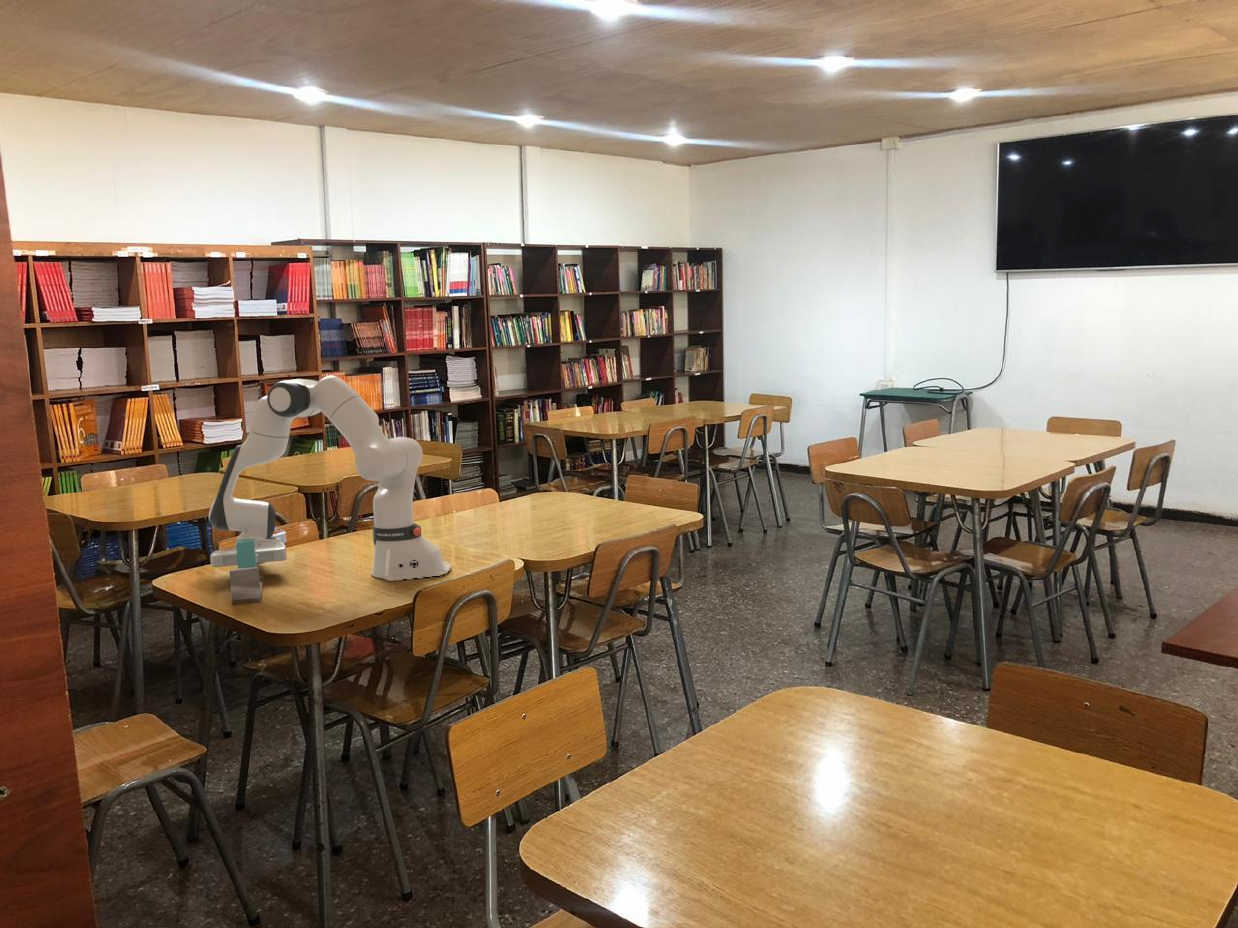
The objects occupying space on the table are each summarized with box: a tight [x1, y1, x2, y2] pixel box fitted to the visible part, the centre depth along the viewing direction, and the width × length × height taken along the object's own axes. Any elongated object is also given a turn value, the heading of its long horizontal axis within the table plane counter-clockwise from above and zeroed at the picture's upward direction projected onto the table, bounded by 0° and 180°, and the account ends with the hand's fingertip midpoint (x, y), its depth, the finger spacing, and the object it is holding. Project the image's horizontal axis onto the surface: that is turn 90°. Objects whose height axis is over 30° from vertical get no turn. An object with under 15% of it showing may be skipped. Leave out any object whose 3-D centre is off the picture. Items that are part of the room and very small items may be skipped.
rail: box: [228, 566, 265, 606], centre depth 258 cm, size 26×7×9 cm, turn 19°
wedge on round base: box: [271, 525, 287, 544], centre depth 317 cm, size 9×7×13 cm
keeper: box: [235, 538, 258, 569], centre depth 260 cm, size 4×4×12 cm
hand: (248, 561), depth 262 cm, fingers closed, pressing on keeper
